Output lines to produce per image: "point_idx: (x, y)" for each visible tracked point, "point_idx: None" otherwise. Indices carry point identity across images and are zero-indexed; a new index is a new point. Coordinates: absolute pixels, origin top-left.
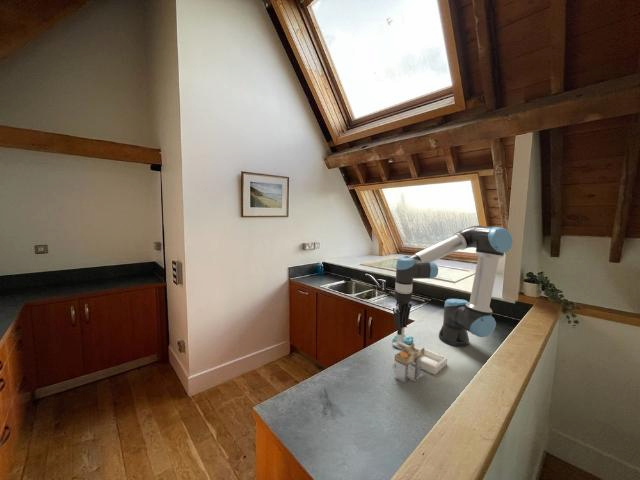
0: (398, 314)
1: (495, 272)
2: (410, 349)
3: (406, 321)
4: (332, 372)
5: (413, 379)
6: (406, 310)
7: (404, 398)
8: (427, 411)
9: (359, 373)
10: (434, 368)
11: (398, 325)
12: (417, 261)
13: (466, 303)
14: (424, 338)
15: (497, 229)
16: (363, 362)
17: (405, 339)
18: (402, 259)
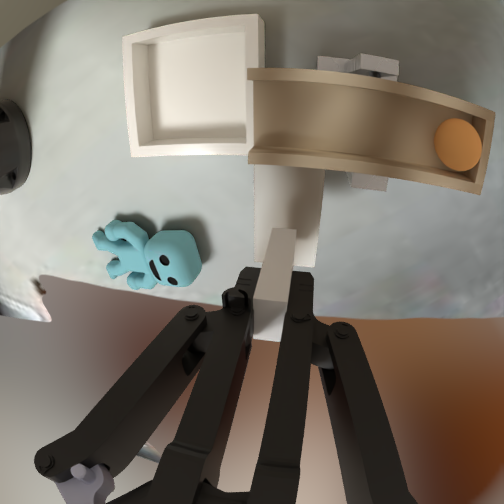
0: (402, 490)
1: None
2: (306, 150)
3: (193, 336)
4: (488, 312)
5: (391, 76)
6: (190, 492)
7: (497, 81)
8: (491, 6)
9: (467, 261)
10: (259, 20)
11: (360, 355)
12: None
13: None
14: (60, 208)
15: None
16: (402, 285)
17: (133, 248)
18: None
